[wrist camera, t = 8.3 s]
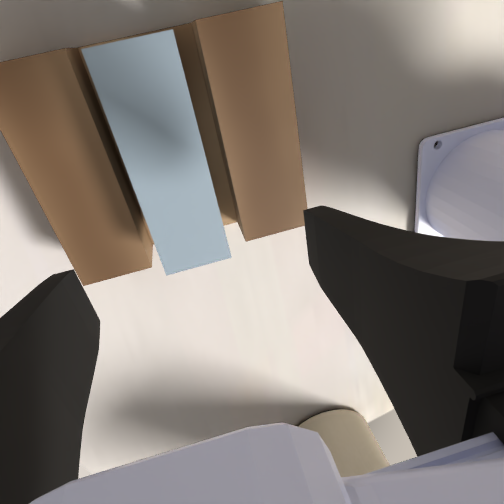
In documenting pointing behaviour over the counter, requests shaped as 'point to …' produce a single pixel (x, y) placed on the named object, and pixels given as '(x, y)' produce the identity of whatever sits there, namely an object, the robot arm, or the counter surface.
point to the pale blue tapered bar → (160, 146)
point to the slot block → (209, 124)
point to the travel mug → (348, 441)
